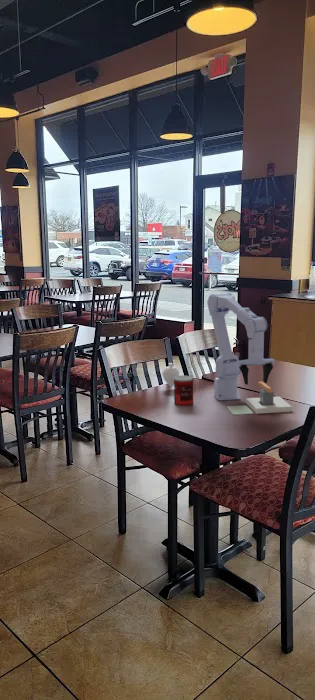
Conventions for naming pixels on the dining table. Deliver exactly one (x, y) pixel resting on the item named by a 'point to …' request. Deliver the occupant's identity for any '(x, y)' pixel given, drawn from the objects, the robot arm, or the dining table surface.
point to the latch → (265, 387)
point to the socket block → (277, 406)
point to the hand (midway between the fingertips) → (255, 383)
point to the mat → (239, 410)
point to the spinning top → (170, 374)
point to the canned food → (183, 390)
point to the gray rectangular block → (266, 398)
